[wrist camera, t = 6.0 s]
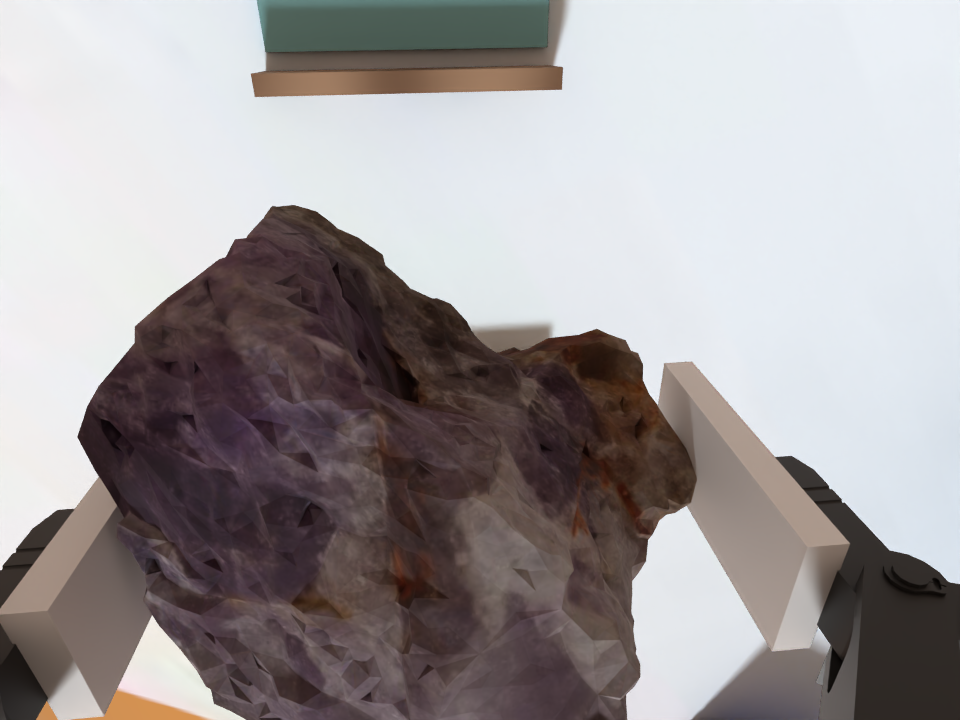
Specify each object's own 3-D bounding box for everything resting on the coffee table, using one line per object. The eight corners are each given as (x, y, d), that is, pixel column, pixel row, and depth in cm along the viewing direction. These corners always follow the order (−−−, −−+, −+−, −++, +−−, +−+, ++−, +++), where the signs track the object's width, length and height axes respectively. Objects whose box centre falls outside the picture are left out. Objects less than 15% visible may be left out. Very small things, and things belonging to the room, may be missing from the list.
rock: (341, 127, 14) (169, 425, 17) (146, 123, 6) (-107, 676, 9) (698, 386, 16) (490, 608, 20) (890, 626, 8) (487, 935, 12)
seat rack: (569, -477, 18) (591, -548, 16) (538, 380, 33) (547, 404, 31) (168, -499, 17) (132, -580, 15) (320, 394, 32) (313, 420, 30)
